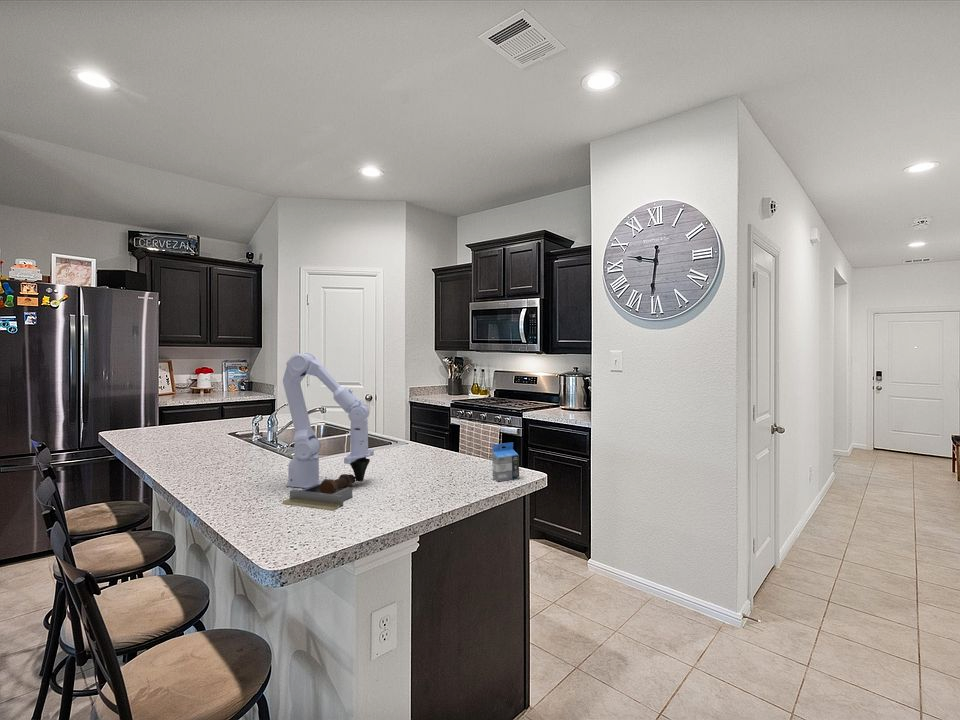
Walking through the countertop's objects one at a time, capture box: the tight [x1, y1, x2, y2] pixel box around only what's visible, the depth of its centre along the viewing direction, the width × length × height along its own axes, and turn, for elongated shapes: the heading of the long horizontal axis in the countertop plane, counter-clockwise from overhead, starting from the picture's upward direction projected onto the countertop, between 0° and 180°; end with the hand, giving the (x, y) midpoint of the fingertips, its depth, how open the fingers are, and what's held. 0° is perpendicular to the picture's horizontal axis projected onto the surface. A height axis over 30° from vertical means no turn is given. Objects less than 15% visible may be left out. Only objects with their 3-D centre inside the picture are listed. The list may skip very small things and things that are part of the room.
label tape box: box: [491, 442, 520, 482], centre depth 175 cm, size 9×4×12 cm, turn 120°
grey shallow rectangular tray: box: [281, 484, 353, 511], centre depth 150 cm, size 18×12×3 cm
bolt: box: [319, 473, 356, 494], centre depth 162 cm, size 6×5×15 cm
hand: (359, 480), depth 169 cm, fingers closed
